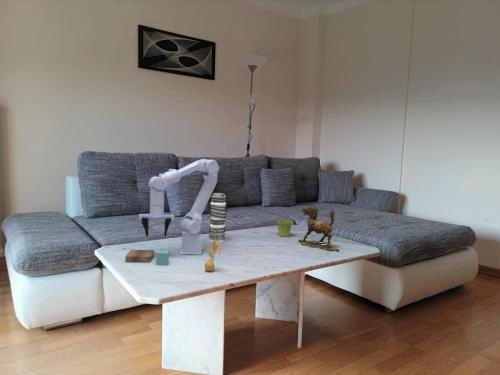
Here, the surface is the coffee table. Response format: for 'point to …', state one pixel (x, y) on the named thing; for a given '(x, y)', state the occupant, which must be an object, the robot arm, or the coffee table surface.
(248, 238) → the coffee table surface
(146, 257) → the walnut block
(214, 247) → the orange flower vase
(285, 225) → the plant pot
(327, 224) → the figurine
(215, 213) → the decorative candle
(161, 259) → the teal block
